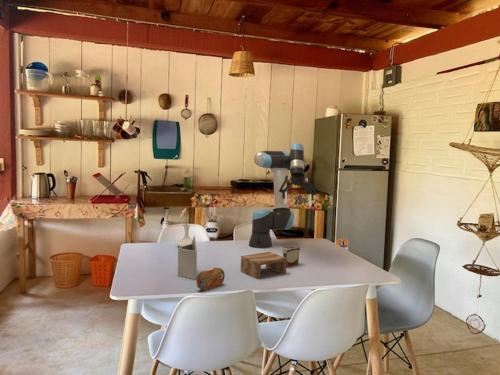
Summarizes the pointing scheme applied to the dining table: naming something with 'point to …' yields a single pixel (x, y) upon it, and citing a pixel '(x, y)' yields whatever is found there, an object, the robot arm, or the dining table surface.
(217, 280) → the tin
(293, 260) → the food container
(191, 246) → the planter
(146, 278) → the dining table surface
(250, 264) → the walnut shelf
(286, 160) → the robot arm
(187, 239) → the flower in vase
